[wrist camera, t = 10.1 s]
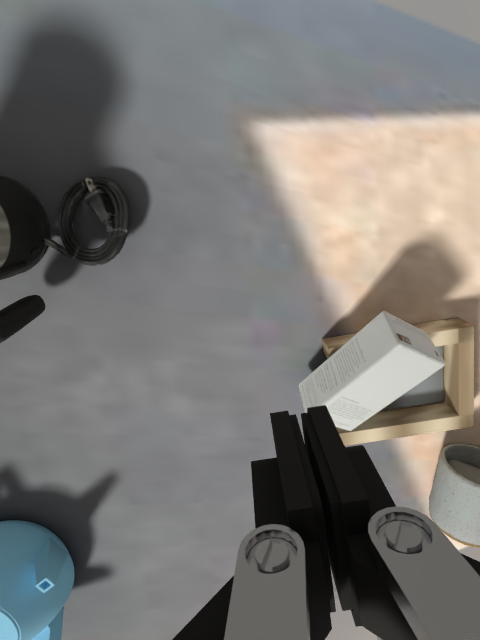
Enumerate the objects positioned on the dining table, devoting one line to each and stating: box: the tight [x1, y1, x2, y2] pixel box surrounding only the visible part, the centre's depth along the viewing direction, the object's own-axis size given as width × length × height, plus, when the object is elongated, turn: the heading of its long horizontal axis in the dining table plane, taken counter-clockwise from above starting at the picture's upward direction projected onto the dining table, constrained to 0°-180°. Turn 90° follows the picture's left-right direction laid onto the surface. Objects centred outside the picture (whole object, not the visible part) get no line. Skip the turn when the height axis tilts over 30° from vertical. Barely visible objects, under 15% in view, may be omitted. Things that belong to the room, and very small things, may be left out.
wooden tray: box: [322, 318, 474, 446], centre depth 42 cm, size 14×11×3 cm
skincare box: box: [299, 311, 445, 431], centre depth 38 cm, size 6×4×12 cm
